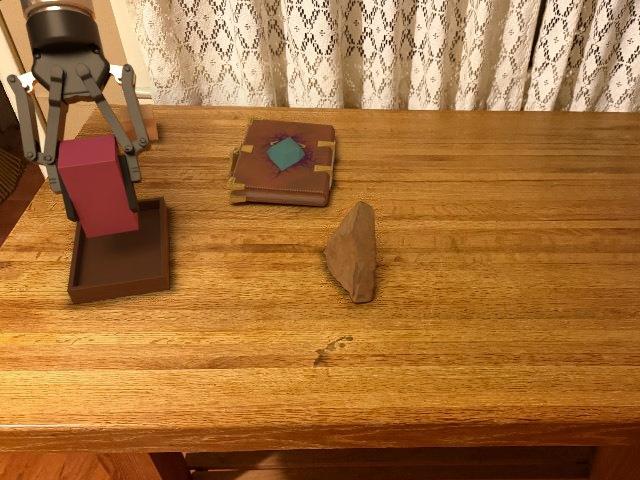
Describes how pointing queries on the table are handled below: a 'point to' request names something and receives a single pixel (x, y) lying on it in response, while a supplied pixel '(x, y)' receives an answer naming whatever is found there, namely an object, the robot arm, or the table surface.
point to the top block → (96, 185)
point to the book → (283, 163)
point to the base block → (148, 120)
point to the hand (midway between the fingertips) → (104, 214)
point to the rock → (354, 252)
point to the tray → (122, 258)
